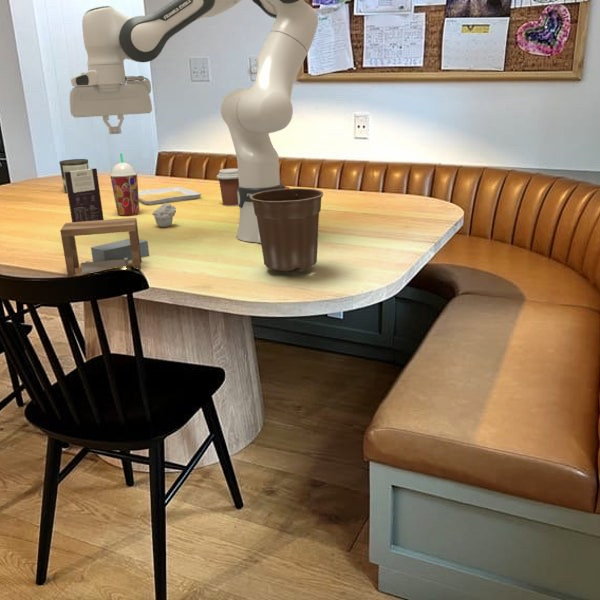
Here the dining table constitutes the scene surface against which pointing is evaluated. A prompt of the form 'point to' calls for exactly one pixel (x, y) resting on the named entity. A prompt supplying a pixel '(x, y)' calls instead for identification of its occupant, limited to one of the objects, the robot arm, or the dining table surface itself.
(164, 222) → the grey lumpy rounded piece
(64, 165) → the coffee can
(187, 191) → the salad plate
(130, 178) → the smoothie
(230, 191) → the coffee cup
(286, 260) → the plant pot
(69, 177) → the chocolate bar
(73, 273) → the bench
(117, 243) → the slab
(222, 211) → the dining table surface
